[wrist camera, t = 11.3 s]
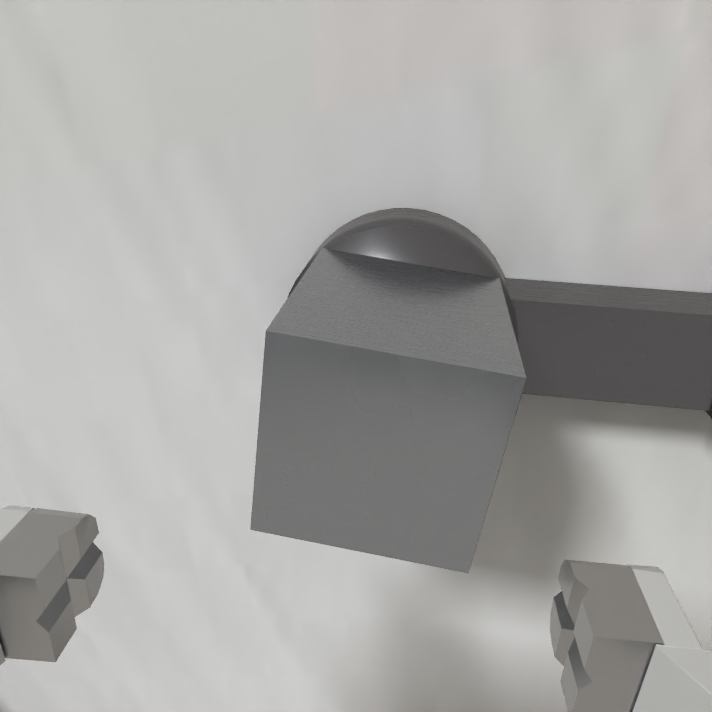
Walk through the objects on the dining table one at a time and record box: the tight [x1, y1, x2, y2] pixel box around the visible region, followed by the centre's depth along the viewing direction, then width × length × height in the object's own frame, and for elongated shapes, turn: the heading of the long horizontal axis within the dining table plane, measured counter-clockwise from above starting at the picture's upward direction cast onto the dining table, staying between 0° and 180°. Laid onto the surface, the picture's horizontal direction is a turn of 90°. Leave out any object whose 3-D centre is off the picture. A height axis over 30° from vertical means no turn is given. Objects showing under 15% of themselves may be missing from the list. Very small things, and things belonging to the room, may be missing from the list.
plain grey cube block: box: [251, 248, 526, 573], centre depth 15 cm, size 5×5×6 cm
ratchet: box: [287, 208, 712, 419], centre depth 17 cm, size 7×19×6 cm, turn 88°
